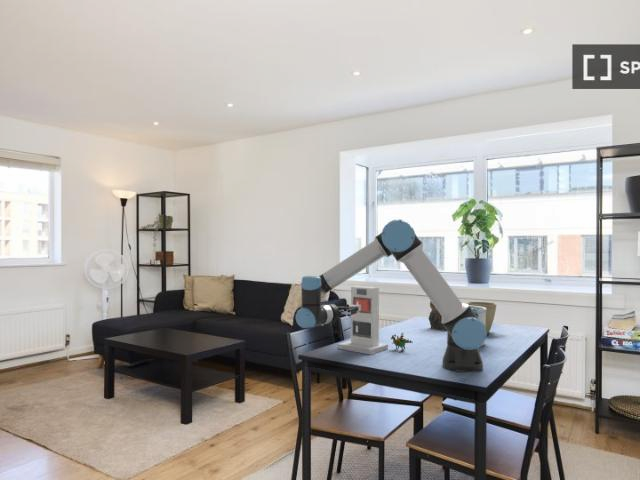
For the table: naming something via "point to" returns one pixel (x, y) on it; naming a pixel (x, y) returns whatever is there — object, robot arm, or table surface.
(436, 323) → the owl
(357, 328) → the black rocker
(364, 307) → the red rocker
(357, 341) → the rocker switch stand
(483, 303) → the plant pot
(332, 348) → the table surface
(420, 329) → the table surface
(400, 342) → the figurine
